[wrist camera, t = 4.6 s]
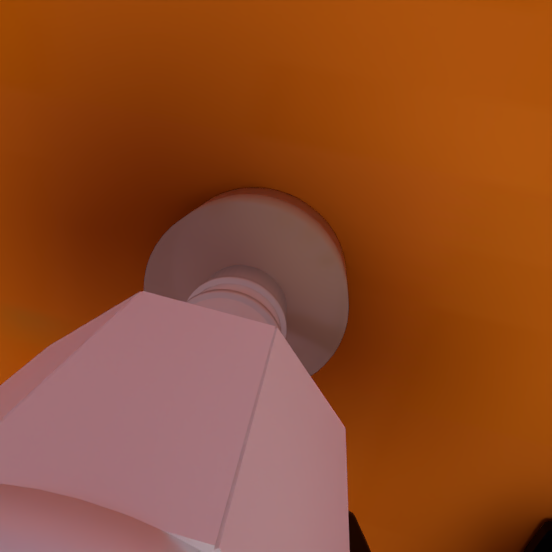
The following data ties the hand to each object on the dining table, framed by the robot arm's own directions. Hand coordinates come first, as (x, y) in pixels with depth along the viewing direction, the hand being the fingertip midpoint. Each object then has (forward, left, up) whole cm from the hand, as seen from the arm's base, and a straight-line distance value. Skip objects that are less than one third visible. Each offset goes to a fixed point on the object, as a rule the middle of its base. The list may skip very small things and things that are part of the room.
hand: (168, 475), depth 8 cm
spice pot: (0, 0, -10) cm, 11 cm away
